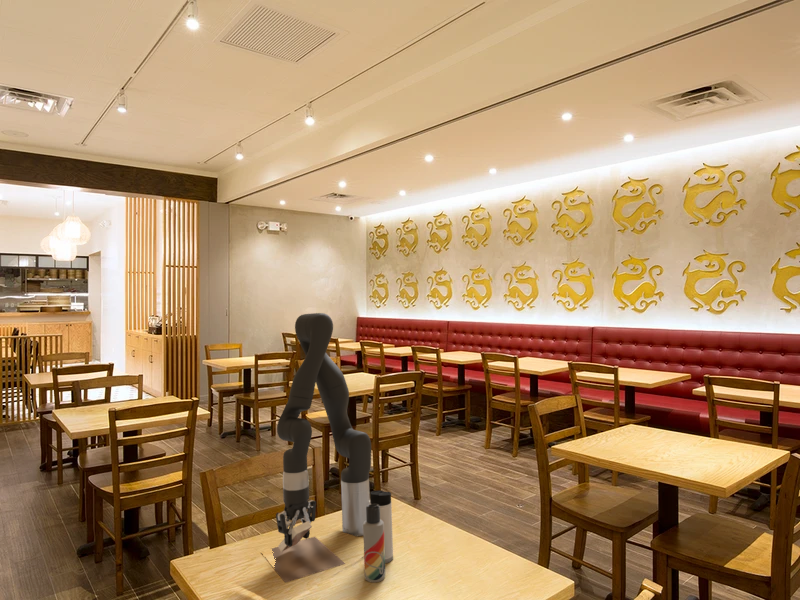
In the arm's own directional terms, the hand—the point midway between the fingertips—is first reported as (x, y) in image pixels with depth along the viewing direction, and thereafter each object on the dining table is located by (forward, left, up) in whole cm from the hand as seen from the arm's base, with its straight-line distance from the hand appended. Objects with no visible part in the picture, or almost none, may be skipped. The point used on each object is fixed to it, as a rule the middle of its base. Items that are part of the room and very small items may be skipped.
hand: (297, 541), depth 160 cm
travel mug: (-20, +15, -6) cm, 26 cm away
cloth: (0, +2, -5) cm, 6 cm away
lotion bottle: (-13, +23, -6) cm, 27 cm away
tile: (+2, -4, -2) cm, 5 cm away
